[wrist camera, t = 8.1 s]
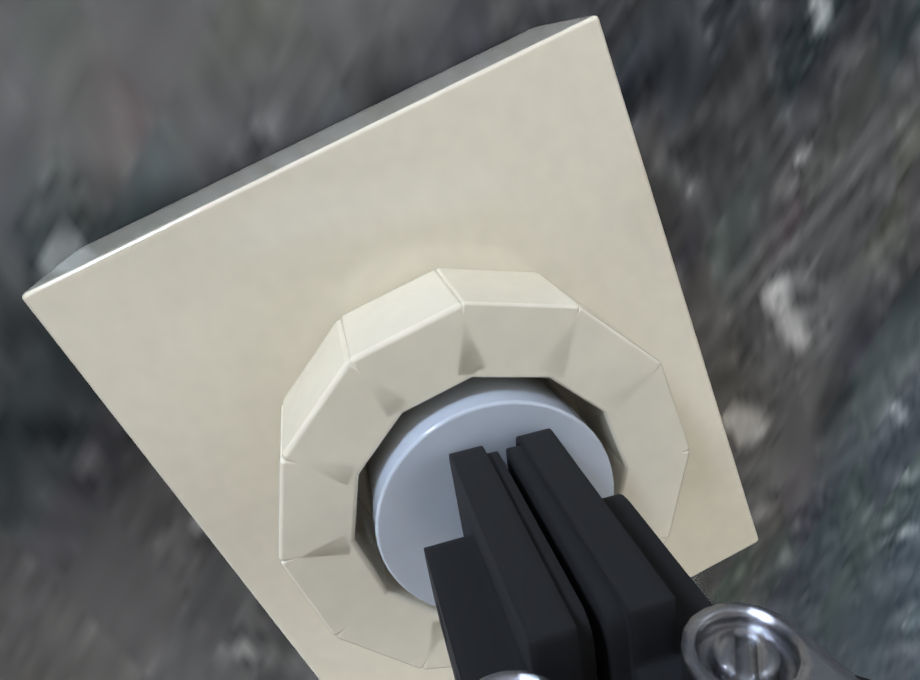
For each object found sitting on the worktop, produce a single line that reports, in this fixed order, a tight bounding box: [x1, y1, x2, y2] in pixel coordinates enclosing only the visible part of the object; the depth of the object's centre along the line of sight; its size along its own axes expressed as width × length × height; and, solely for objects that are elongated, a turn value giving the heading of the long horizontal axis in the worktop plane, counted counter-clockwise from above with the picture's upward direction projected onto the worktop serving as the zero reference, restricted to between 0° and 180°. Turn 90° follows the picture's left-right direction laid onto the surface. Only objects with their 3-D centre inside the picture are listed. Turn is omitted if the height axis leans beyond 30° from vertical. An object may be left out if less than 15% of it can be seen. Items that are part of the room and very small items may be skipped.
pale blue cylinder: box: [363, 377, 614, 606], centre depth 12 cm, size 4×4×2 cm
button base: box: [22, 16, 758, 680], centre depth 14 cm, size 12×10×5 cm
